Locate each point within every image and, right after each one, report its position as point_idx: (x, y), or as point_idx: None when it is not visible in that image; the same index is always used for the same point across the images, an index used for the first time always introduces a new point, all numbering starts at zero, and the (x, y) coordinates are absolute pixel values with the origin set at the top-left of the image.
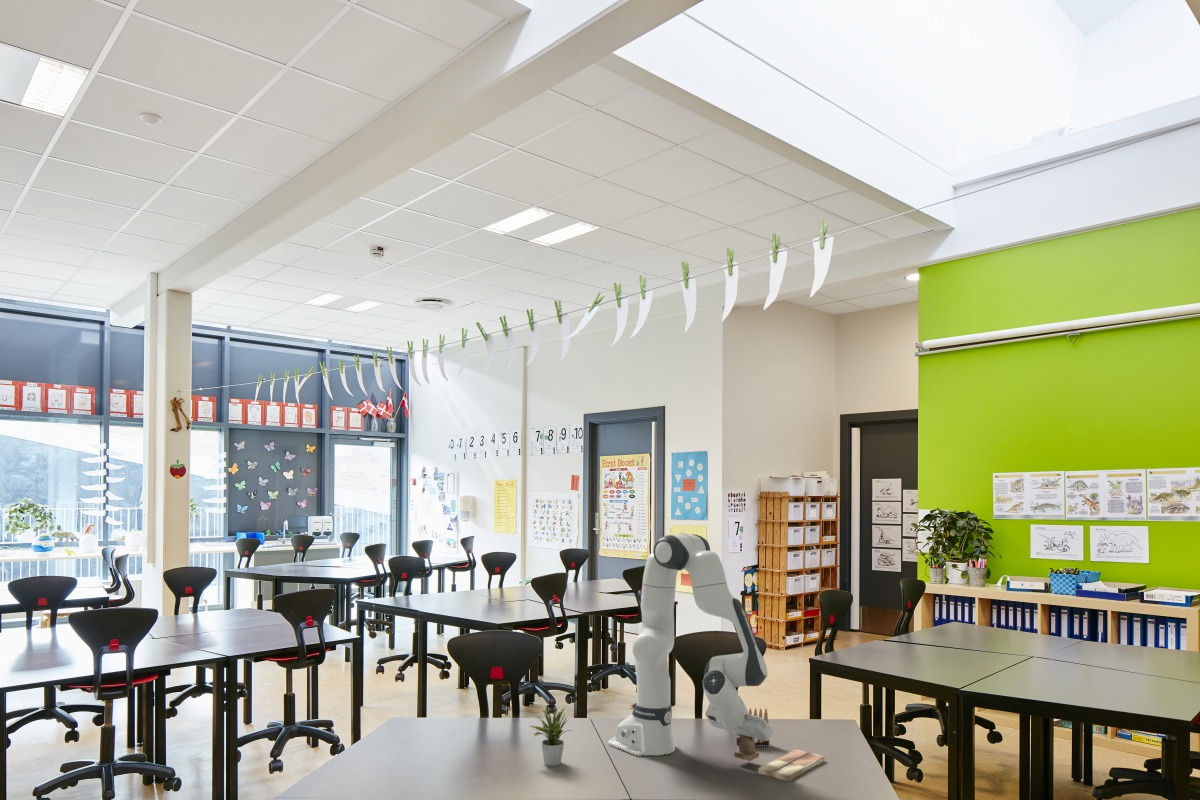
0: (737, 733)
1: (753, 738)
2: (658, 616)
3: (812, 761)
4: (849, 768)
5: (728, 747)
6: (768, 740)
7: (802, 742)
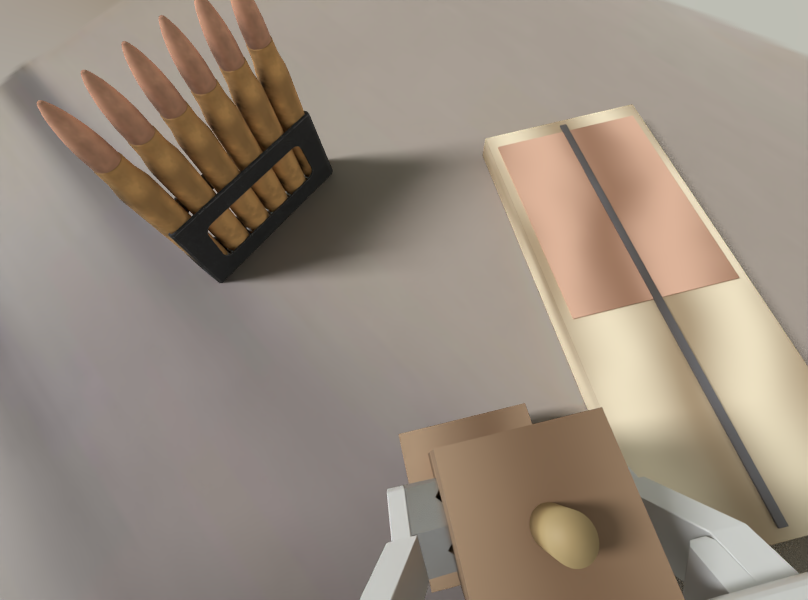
0: (421, 588)
1: (679, 568)
2: None
3: (681, 192)
4: (747, 105)
5: (203, 341)
6: (323, 154)
7: (386, 49)
